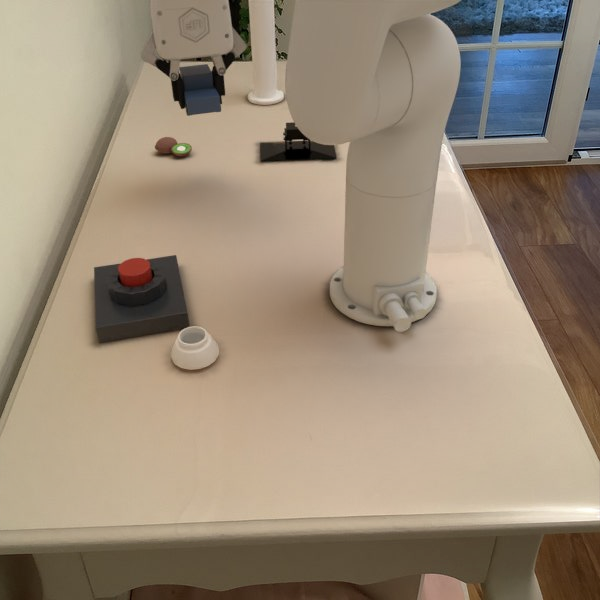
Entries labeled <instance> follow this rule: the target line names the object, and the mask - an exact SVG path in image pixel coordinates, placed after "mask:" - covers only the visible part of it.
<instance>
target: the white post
mask: <svg viewBox="0 0 600 600" xmlns="http://www.w3.org/2000/svg"><path fill="white" fill-rule="evenodd" d="M248 13H249V15H248V16H249V31H250V47H251V48H250V49H251V64H252V79H253V90H252V91H250V92H249V93H247V101H249V103H252V104H254V105H260V106H271V105H275V104H279V103H280V102H282V101H284V99H285V93H284V92H283V91H282V90H280V89H278V73H277V70H278V69H277V48H276V47H277V46H276V45H277V44H276V27H275V26H276V24H275V23H276V22H275V0H248Z"/></svg>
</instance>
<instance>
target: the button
mask: <svg viewBox="0 0 600 600" xmlns="http://www.w3.org/2000/svg"><path fill="white" fill-rule="evenodd" d="M146 259H147V258H144V257H143V258H142V257H133V258H128V259H126V260H123V261H122V262H120V263H121V264H120V263H119V264H120V265H119V267H118V272H119V276H120V281H121V284H122V285H123V286H127V287H138V286H143V285H145V284H147V283H149V282H150V281H151V280H152V272H151V266H150V263H149V261H147V260H146Z"/></svg>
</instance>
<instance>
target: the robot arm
mask: <svg viewBox="0 0 600 600" xmlns="http://www.w3.org/2000/svg"><path fill="white" fill-rule="evenodd" d="M461 1H462V0H295V1H294V9H293V15H292V22H291V29H290V34H289V42H288V50H287V56H286V64H285V76H284V77H285V79H284V80H285V81H284V87H285V88H284V90H285V97H286V104H287V107H288V111H289V114H290V116H291V119H292V122H294V123H295V126H296V127H297V128H298V129H299V130H300V131H301V133H302V134H303V135H305V136H306V137H307V138H308V139H310V140H311V141H314V142H316V143H319V144H323V145H334V146H337V145H338V146H339V145H343V144H347V143H349V145H348V148H347V155H346V165H345V172H346V173H345V191H344V193H345V196H344V198H345V199H344V233H343V235H344V237H343V266H341V267H340V268H339V269H337V271H336V272H334V274H333V275H332V277H331V279H330V283H329V297H330V300H331V302H332V304H333V305H334V307H335V308H336V309H337V310H338V311H339V312H340V313H342V315H344V316H346V317H348V318H349V319H352V320H354V321H356V322H359V323H362V324H365V325H371V326H376V327H393V328H394V330H395V331H396V332H398V333H402V332H406V331H408V330H409V329H410V327H411V326H412V323H414V322H416V321H418V320H421V319H422V320H423V319H424V318H425V317H426V315H428V314H429V313H430V312H431V311H432V309H433V308H434V306H435V304H436V300H437V295H438V294H437V293H438V288H437V284H436V282H435V281H434V278H433V277H432V276H431V275H430V274H429V272H427V266H428V265H427V264H428V257H429V248H430V242H431V241H430V239H431V231H432V225H433V216H434V208H435V207H434V205H435V197H436V190H437V181H438V174H439V167H440V166H439V165H440V160H441V152H442V146H443V141H444V135H445V131H446V127H447V123H448V120H449V117H450V113H451V110H452V107H453V105H454V102H455V99H456V95H457V91H458V87H459V84H460V83H459V82H460V77H461V64H462V63H461V62H462V61H461V53H460V47H459V44H458V41H457V38H456V36H455V34H454V33H453V31H452V30H451V28H450V27H449V26H448V25H447V24H446V23H445V22H444V21H443V20H442V19H440V18H438V17H437V16H434V15H432V14H433V13H434V14H435V13H437V12H441V11H443V10H446V9H448V8H451V7H452V6H454V5H457V4H458V3H460V2H461ZM149 7H150V19H151V29H152V30H151V32H150V33H149V36H148V37H147V39H146V41H145V43H144V45H143V47H142V49H141V51H140V53H139V54H140V59H141V60H142V61H144V62H146V63H147V64H149V65H151V66H153V67H155V68H157V70H159V71H160V72H161V73H163V75H165V76H166V77H168V78H169V79H170V84H171V85H170V86H171V91H172V98H173V102H178V104H179V107H180V109H181V110H184V109H185V96H184V86H183V80H182V78H181V75H180V70H179V67H181V60H190V59H199V58H207V57H208V58H209V57H210V58H211V62H212V65H213V66H212V69H211V72H212V75H213V85H214V87H215V89H216V90H217V92H218V94H219V96H220V104H221V105H222V104H223V98H222V97H224V96H226V87H225V74H226V73H227V70H228V69H229V67H231V66H232V64H233V63H234V62H235V60H236V58H237V57H239V56H240V55H241V54H243V53H244V52H245V51H246V50H247V49H248V45H247V43H246V42H245V41H244V39H243V38H242V37H241V36H240V34H239V33H238V32H237V30H236V29H235V28H234V27H233V24H232V16H231V9H230V2H229V0H150V1H149ZM155 51H156V52H157V54H158V55H157V54H155ZM185 110H186V109H185Z"/></svg>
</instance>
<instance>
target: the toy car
mask: <svg viewBox="0 0 600 600" xmlns="http://www.w3.org/2000/svg"><path fill="white" fill-rule="evenodd" d="M211 71H212V69H211V68H210V66H209V64H208V63H207V64H206V63H205V64H203V63H202V64H195V65H188V66H187V65H186V66H180V67H179V73H180V75H181V78H182V80H183V86H184V96H185V114H186V116H188V117H189V116H194V115H202V114H204V115H205V114H210V113H222V104H220V96H219V94H218V92H217V90H216V89H215V87H214V85H213V75H212V72H211Z"/></svg>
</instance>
